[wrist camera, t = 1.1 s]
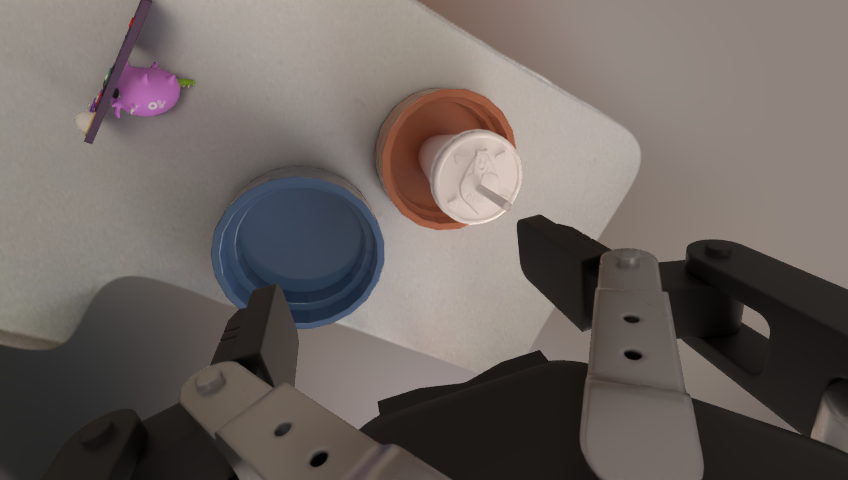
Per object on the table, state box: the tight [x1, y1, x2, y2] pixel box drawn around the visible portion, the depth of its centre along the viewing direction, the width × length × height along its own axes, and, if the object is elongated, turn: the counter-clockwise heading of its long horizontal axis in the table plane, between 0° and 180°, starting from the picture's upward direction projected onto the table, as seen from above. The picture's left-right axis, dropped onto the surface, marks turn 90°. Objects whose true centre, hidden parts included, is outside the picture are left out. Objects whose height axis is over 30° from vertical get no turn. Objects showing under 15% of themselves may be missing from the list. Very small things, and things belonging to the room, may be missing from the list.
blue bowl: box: [211, 166, 384, 329], centre depth 33 cm, size 13×13×4 cm
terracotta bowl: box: [375, 88, 516, 230], centre depth 34 cm, size 11×11×4 cm
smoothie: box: [418, 129, 522, 224], centre depth 29 cm, size 6×6×14 cm
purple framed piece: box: [75, 0, 195, 144], centre depth 26 cm, size 7×5×9 cm
